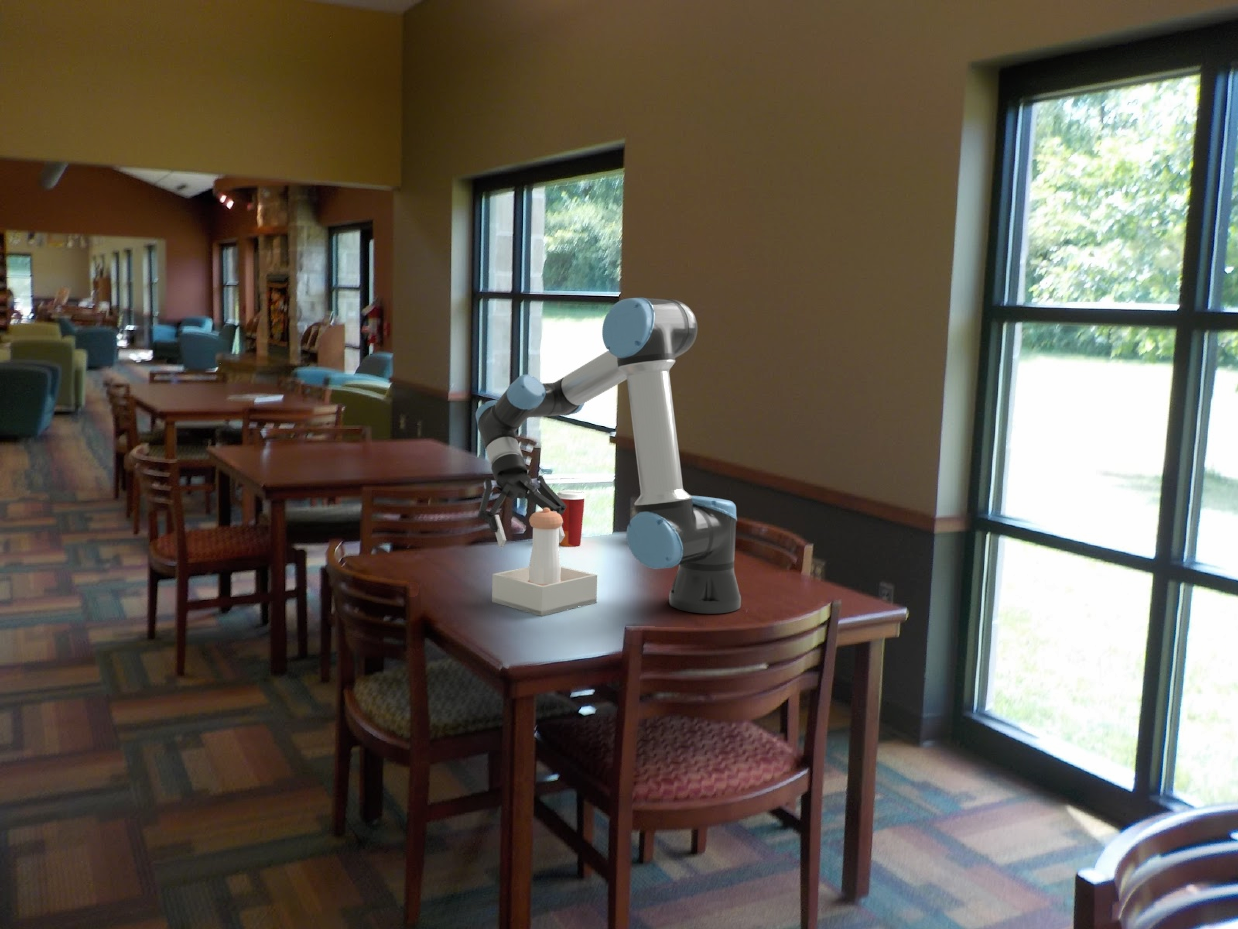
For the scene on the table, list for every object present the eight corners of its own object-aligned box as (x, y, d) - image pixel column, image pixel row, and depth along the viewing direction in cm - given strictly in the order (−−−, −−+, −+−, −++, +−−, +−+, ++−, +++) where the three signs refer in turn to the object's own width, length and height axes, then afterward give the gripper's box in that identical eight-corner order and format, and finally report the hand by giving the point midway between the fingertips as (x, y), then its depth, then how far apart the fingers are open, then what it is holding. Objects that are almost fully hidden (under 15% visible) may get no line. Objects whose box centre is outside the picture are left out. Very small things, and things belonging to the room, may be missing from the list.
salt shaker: (560, 602, 235) (562, 511, 232) (525, 601, 235) (527, 510, 232) (562, 593, 242) (565, 505, 239) (528, 592, 242) (530, 504, 240)
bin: (596, 602, 239) (597, 575, 239) (541, 616, 228) (542, 587, 227) (546, 589, 249) (547, 562, 249) (492, 601, 238) (492, 574, 237)
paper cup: (586, 542, 301) (587, 490, 299) (582, 548, 293) (583, 495, 292) (557, 540, 302) (558, 489, 300) (552, 546, 294) (553, 493, 292)
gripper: (552, 470, 262) (579, 547, 251) (449, 474, 250) (472, 555, 239) (562, 450, 256) (590, 527, 245) (458, 453, 245) (482, 535, 234)
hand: (532, 541), depth 242 cm, fingers open, 13 cm apart
